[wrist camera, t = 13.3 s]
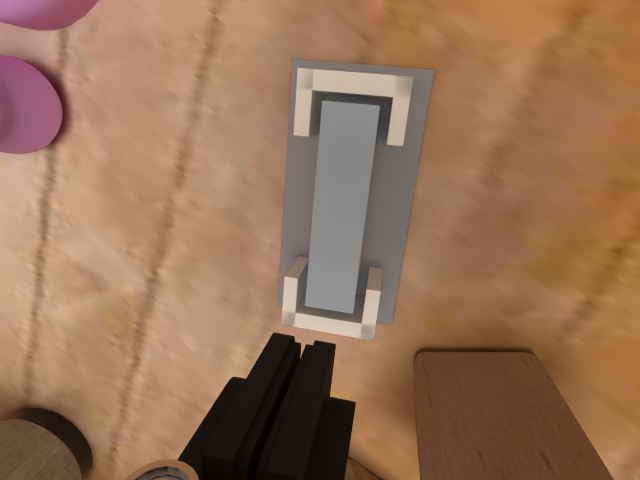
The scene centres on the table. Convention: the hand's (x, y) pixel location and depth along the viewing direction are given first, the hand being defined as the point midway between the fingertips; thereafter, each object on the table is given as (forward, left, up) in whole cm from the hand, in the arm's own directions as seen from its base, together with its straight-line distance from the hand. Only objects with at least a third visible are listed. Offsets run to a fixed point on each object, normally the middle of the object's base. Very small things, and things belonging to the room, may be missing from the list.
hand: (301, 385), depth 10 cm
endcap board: (+1, 0, -22) cm, 22 cm away
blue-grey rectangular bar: (+1, -1, -21) cm, 21 cm away
